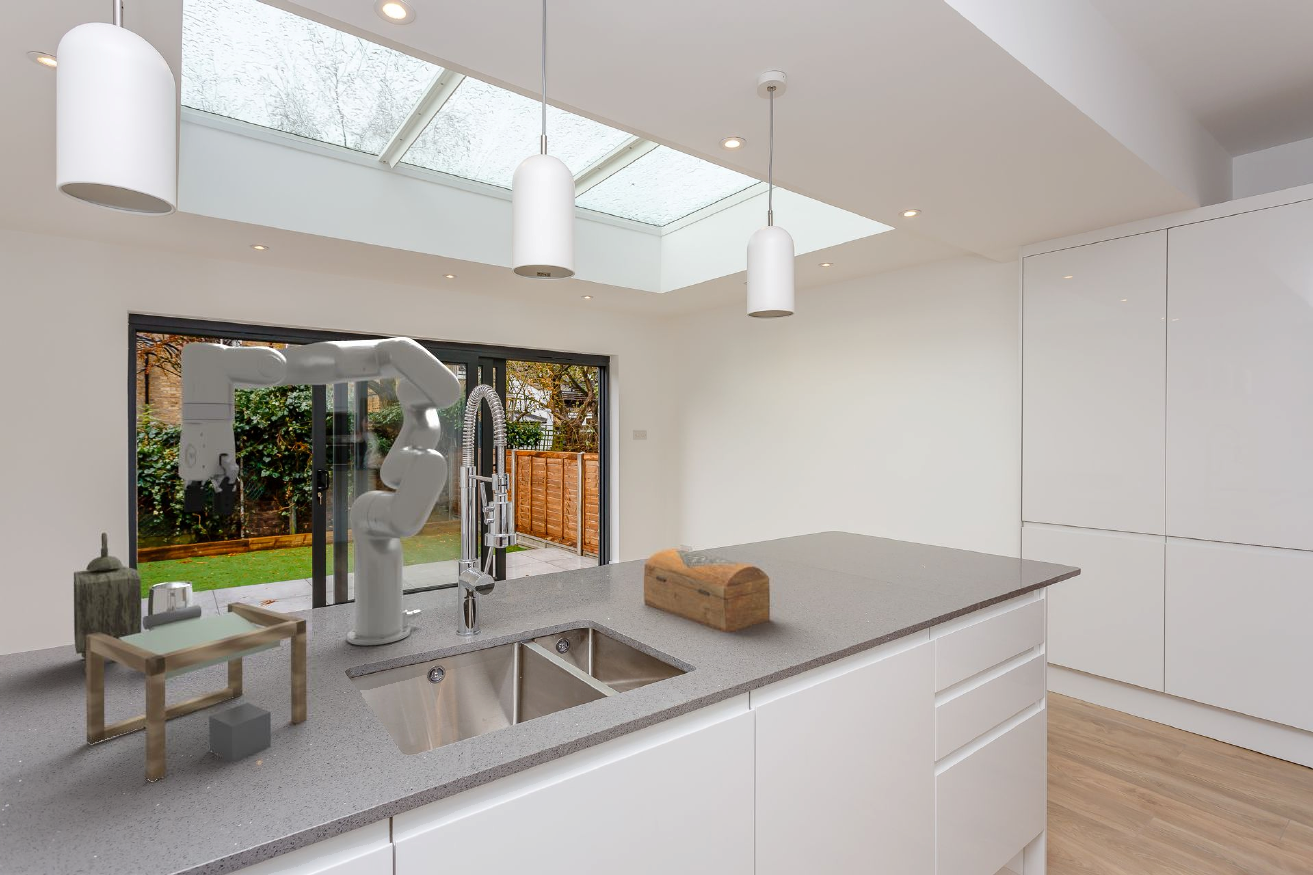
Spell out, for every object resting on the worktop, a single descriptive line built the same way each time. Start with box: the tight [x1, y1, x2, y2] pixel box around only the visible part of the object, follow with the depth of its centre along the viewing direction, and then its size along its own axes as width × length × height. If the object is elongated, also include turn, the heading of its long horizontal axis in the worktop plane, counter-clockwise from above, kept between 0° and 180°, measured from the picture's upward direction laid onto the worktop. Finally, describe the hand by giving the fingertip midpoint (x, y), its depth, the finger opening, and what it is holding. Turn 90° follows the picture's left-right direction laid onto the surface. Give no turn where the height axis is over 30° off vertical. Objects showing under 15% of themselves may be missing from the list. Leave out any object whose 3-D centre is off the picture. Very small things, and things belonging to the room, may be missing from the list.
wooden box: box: [643, 548, 771, 633], centre depth 156 cm, size 30×16×14 cm, turn 38°
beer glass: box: [147, 580, 195, 616], centre depth 121 cm, size 7×7×15 cm
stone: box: [208, 702, 272, 763], centre depth 88 cm, size 5×5×6 cm
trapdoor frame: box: [85, 601, 308, 782], centre depth 93 cm, size 20×20×16 cm
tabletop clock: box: [73, 532, 142, 673], centre depth 121 cm, size 14×9×25 cm, turn 45°
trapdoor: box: [119, 604, 281, 680], centre depth 94 cm, size 15×17×2 cm
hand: (209, 513), depth 109 cm, fingers open, 9 cm apart
